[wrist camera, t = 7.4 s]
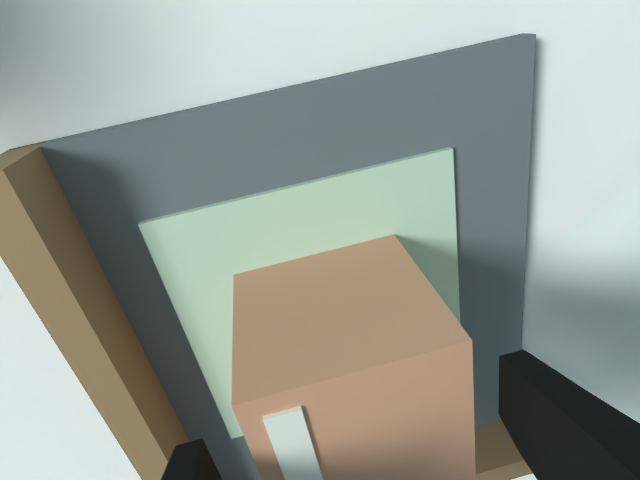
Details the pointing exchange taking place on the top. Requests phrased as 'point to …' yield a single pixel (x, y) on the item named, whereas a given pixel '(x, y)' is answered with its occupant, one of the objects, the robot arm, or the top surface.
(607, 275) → the top surface
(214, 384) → the pad
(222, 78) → the top surface
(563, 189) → the top surface
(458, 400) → the cube
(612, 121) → the top surface
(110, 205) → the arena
